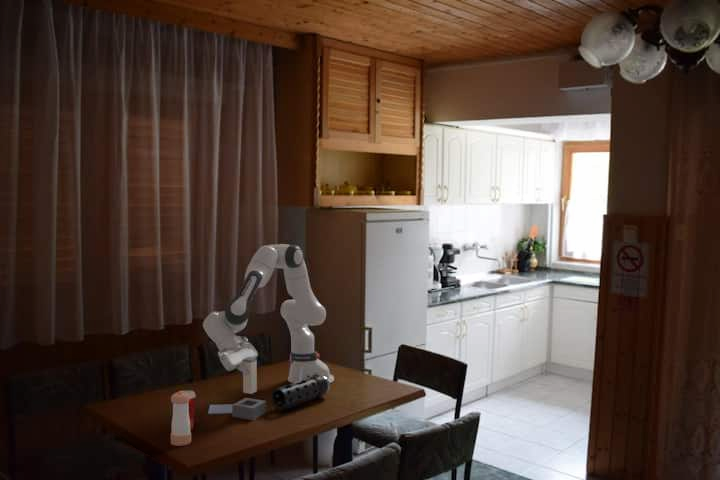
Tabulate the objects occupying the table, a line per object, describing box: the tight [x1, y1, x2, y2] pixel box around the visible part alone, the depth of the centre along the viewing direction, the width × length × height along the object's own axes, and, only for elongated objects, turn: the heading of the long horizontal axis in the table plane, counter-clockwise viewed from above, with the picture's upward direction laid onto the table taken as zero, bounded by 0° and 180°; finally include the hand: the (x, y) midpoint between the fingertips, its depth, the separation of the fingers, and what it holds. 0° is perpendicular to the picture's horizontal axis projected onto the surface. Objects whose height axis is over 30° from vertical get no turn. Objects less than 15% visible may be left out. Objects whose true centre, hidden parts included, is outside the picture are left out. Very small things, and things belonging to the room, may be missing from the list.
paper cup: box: [182, 390, 197, 431], centre depth 258 cm, size 8×8×14 cm
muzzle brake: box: [270, 375, 331, 412], centre depth 289 cm, size 10×28×10 cm, turn 141°
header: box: [231, 397, 267, 421], centre depth 274 cm, size 10×10×5 cm
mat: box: [207, 403, 234, 415], centre depth 280 cm, size 10×10×1 cm
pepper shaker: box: [170, 390, 192, 447], centre depth 244 cm, size 7×7×19 cm
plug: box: [242, 357, 258, 395], centre depth 273 cm, size 4×4×14 cm
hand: (251, 372), depth 273 cm, fingers closed on plug, 4 cm apart
